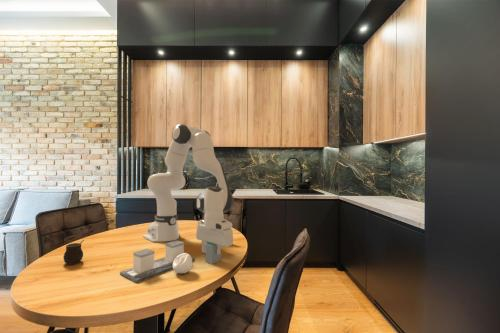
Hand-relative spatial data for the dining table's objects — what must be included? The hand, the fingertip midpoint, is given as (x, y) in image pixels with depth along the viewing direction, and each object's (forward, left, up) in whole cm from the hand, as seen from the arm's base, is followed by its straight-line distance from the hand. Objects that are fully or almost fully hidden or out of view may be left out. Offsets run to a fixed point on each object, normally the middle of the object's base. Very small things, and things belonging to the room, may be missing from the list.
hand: (213, 252), depth 116 cm
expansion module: (0, 0, -4) cm, 4 cm away
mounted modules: (-13, -19, -2) cm, 23 cm away
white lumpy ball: (-1, -17, -4) cm, 17 cm away
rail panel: (-13, -19, -4) cm, 23 cm away
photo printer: (-10, +9, -4) cm, 14 cm away
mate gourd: (-47, -39, -4) cm, 61 cm away
